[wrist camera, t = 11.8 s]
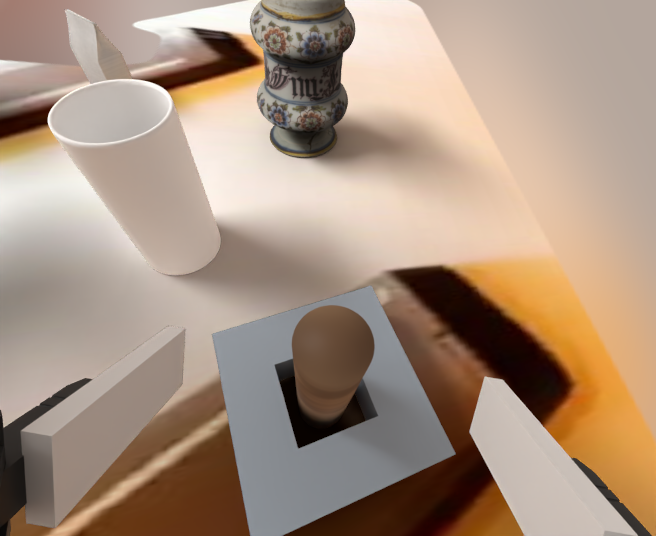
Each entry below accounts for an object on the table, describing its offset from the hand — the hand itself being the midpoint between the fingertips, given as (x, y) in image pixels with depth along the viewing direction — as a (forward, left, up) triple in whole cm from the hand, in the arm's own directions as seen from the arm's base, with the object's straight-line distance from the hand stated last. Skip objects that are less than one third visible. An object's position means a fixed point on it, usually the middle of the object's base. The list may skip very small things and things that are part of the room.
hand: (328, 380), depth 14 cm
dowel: (-2, +1, -16) cm, 16 cm away
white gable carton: (-57, -14, -16) cm, 61 cm away
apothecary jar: (-38, +11, -16) cm, 42 cm away
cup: (-23, -8, -16) cm, 29 cm away
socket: (-2, +1, -16) cm, 16 cm away
